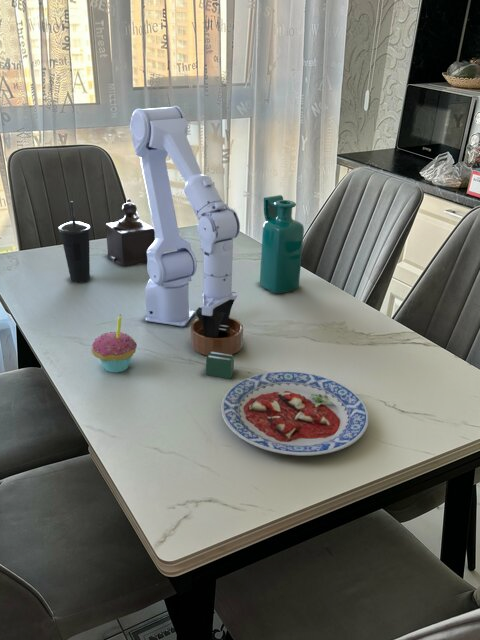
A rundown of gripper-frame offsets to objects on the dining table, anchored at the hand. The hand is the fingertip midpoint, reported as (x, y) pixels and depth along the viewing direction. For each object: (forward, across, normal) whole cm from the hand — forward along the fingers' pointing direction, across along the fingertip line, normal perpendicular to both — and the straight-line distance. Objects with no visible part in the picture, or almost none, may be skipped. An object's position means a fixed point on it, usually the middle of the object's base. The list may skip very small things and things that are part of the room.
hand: (216, 333), depth 127 cm
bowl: (+3, 0, 0) cm, 3 cm away
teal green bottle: (+3, +37, -6) cm, 38 cm away
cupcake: (+3, -15, +16) cm, 23 cm away
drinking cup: (+3, +24, +44) cm, 51 cm away
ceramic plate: (+3, -22, -21) cm, 30 cm away
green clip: (+3, -11, -4) cm, 12 cm away
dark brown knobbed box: (+3, +41, +36) cm, 55 cm away
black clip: (+2, 0, 0) cm, 3 cm away
